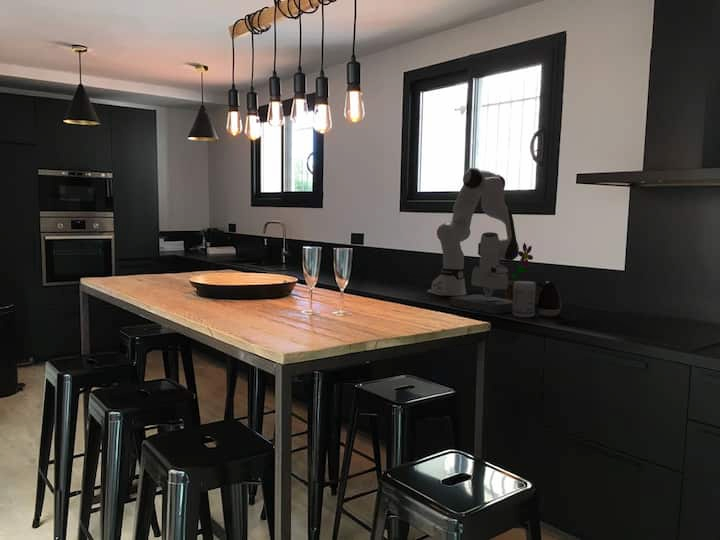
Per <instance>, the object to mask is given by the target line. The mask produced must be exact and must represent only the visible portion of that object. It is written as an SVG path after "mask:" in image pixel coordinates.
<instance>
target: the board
mask: <svg viewBox="0 0 720 540" xmlns="http://www.w3.org/2000/svg"><path fill="white" fill-rule="evenodd" d="M495 302H500V303H495ZM449 303H450V305H456V306H460V307H466V308H470V309H474V310H473V311H475V310H478V311H477V312H479V311H482V312H481V313H484V312H486V314H489V313H492V314H491V315H498V314H497V313H500V314H505V313H506V312H508V313H512V308H513V300H508V299H506V298H502V297H501V298H500V297H496V296H492V298H488V297H485V294H466V295H460V296H450V302H449ZM460 307H459V308H460ZM470 309H469V310H470Z"/></svg>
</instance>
